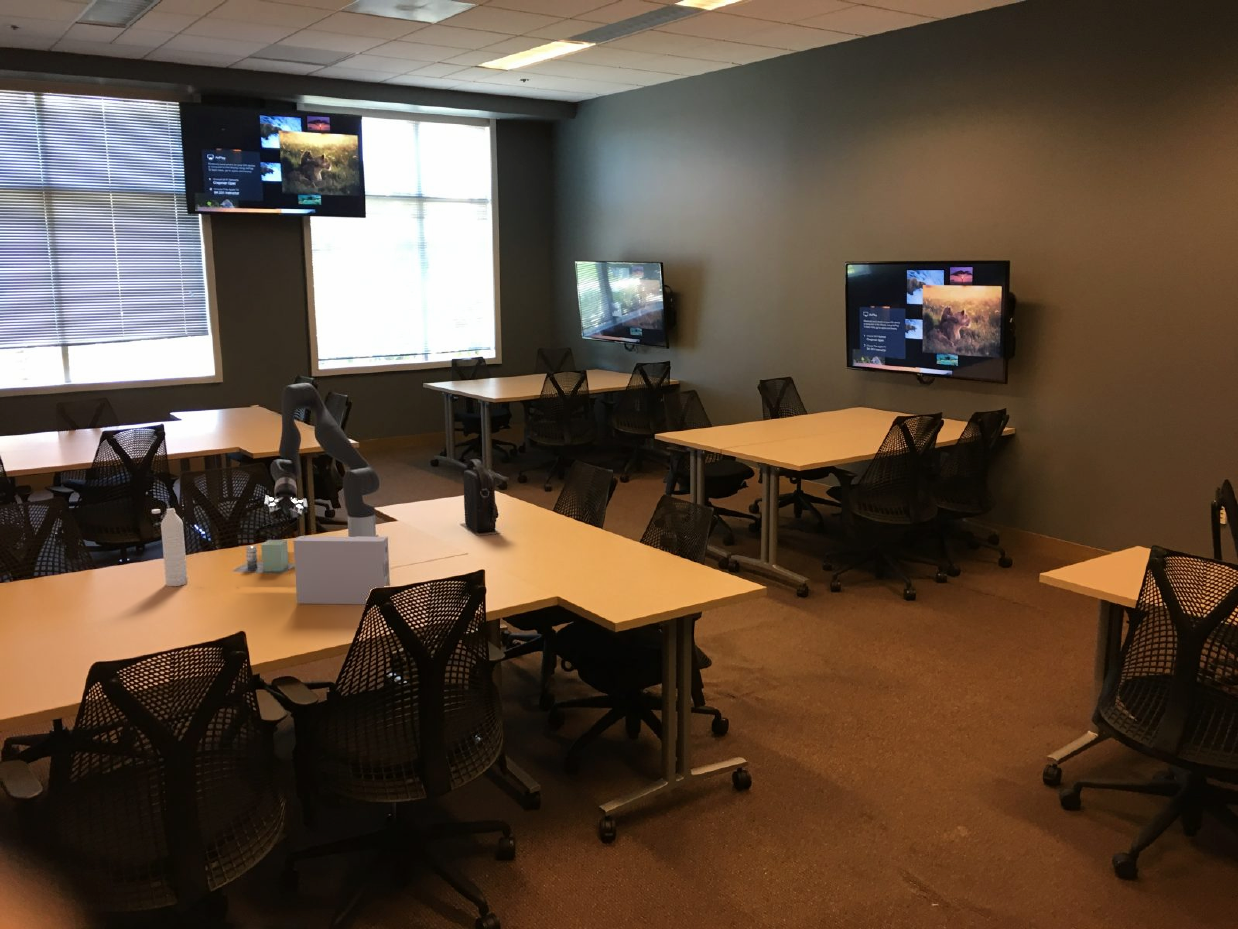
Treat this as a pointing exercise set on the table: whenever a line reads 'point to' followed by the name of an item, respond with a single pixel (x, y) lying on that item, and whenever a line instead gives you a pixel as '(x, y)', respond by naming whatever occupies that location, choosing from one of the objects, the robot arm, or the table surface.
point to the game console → (339, 568)
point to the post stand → (256, 563)
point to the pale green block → (274, 555)
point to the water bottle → (173, 548)
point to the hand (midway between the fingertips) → (285, 515)
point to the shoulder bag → (479, 499)
